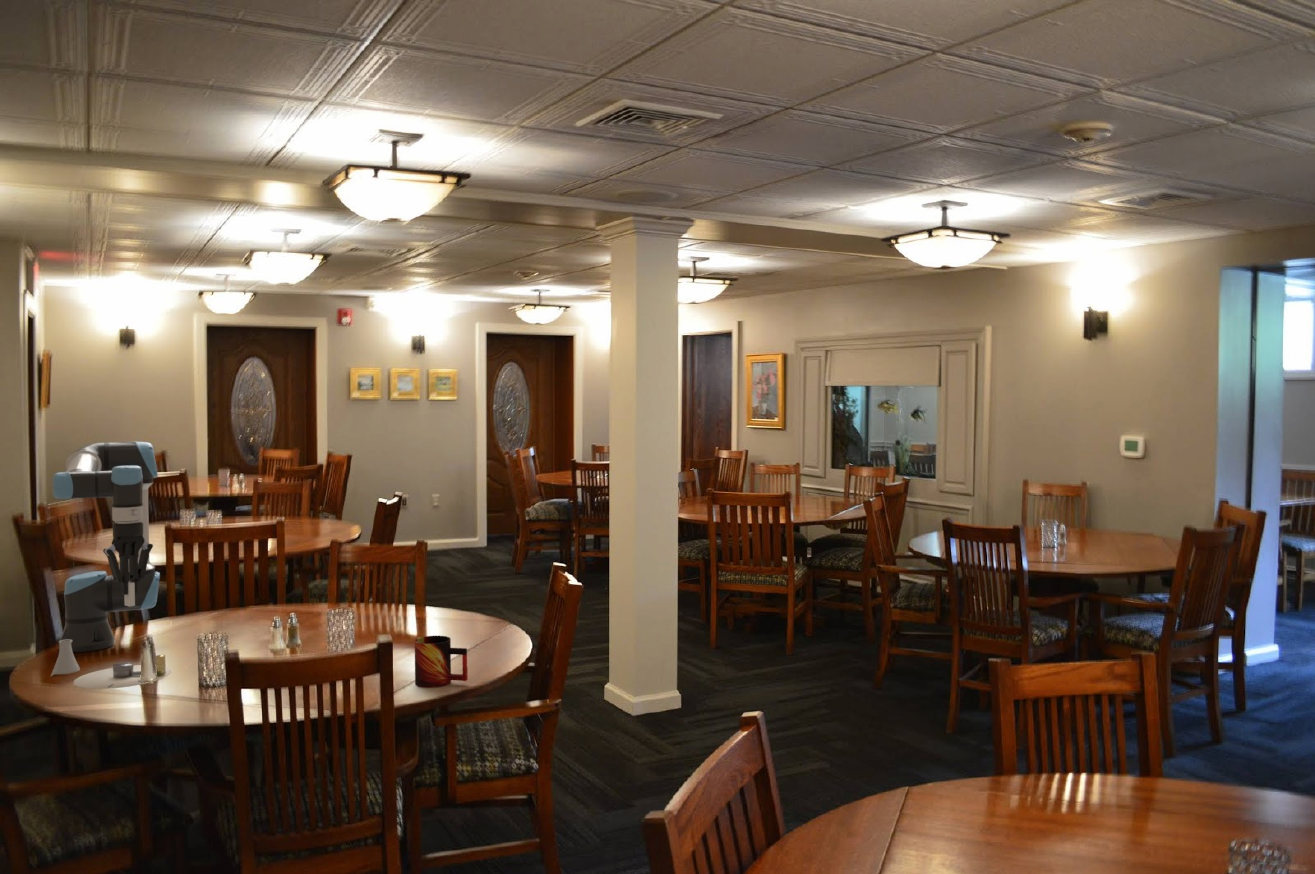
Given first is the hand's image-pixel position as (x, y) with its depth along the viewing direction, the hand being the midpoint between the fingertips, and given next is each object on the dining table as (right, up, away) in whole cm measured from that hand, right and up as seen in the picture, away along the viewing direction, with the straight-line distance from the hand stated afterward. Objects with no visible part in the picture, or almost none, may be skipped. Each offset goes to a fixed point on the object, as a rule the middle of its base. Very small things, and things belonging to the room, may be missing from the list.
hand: (129, 605), depth 279 cm
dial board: (-1, -21, -1) cm, 21 cm away
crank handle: (+3, -19, -1) cm, 19 cm away
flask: (-20, -21, +5) cm, 30 cm away
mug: (+88, -21, -4) cm, 90 cm away
